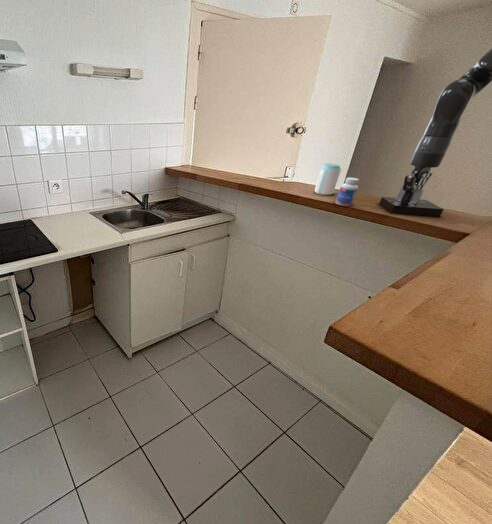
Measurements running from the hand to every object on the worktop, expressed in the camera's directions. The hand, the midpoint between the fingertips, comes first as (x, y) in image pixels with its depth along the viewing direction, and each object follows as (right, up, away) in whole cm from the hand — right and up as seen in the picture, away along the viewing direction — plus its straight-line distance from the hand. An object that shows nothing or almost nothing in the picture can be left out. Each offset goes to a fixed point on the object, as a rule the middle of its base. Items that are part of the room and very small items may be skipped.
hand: (406, 201), depth 101 cm
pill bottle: (-17, +1, +8) cm, 19 cm away
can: (-17, +8, +21) cm, 28 cm away
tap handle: (0, 0, 0) cm, 0 cm away
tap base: (+1, -3, +1) cm, 4 cm away
